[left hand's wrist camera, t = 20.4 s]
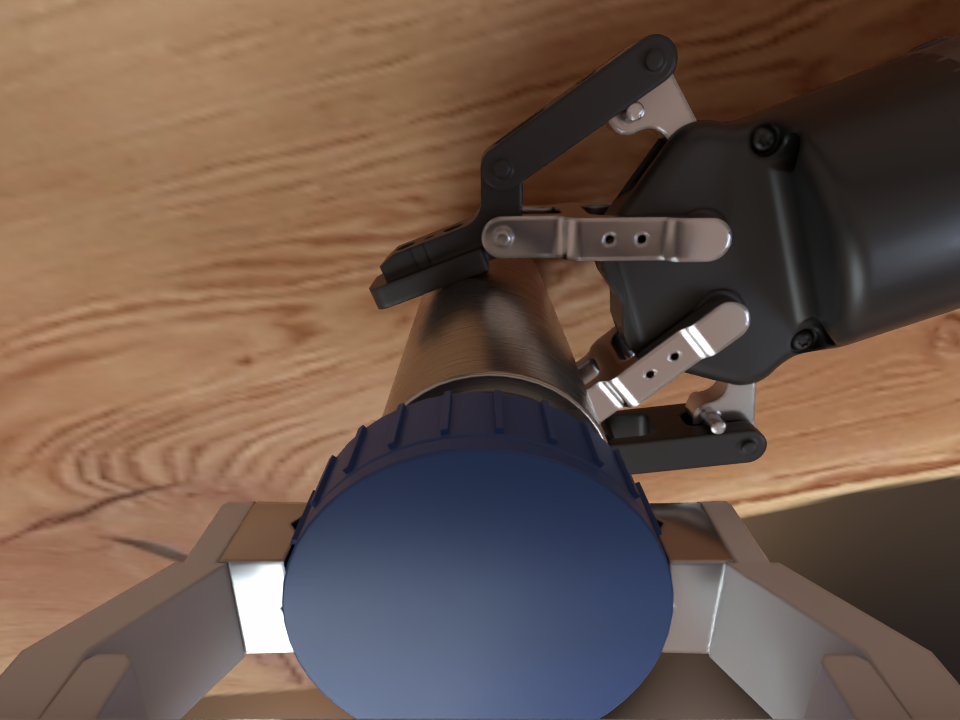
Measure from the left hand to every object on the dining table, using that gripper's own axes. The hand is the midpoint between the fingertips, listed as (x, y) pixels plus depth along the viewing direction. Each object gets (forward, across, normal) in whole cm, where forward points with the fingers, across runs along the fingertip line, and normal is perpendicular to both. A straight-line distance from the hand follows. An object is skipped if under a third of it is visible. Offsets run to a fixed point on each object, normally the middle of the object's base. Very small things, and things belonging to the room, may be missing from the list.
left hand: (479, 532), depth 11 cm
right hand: (+10, -2, -1) cm, 10 cm away
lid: (-2, 0, 0) cm, 2 cm away
